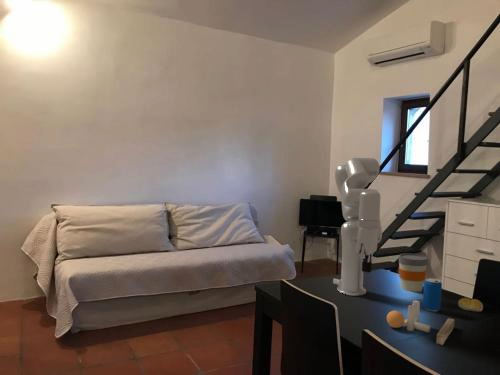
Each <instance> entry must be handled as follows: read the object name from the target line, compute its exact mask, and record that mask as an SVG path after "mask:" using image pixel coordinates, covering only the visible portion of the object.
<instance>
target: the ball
mask: <svg viewBox="0 0 500 375" xmlns="http://www.w3.org/2000/svg"><path fill="white" fill-rule="evenodd" d="M404 320H405V317H404V315H403V313H402V312H400V311H399V310H392V311H390V312H388V314H387V315H386V321H387V324H388V325H389V326H390V327H391V328H393V329H400V328H401V327H403V326H404Z"/></svg>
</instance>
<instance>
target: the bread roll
mask: <svg viewBox="0 0 500 375" xmlns="http://www.w3.org/2000/svg"><path fill="white" fill-rule="evenodd" d="M457 304H458V307H459V308H461V309H462V310H465V311H471V312H475V311H476V312H482V311H483V309H484V305H483V303H482V302H481V301H480V300H478V299H477V298H473V299H470V298H469V297H463V298H460V299H459V300H458V302H457Z"/></svg>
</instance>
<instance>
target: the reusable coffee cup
mask: <svg viewBox="0 0 500 375" xmlns="http://www.w3.org/2000/svg"><path fill="white" fill-rule="evenodd" d="M398 264H399V266H398V277H399V278H400V288H401V289H402V290H403V291H406V292H412V293H413V292H422V290H423V287H424V282H425V280H426V275H427V266H428V257H427V256H425V255H423V254H422V255H421V254H417V253H410V252H409V253H408V252H407V253H400V254H399V255H398Z"/></svg>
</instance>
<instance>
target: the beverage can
mask: <svg viewBox="0 0 500 375" xmlns="http://www.w3.org/2000/svg"><path fill="white" fill-rule="evenodd" d="M442 287H443V283H442V282H441V279H438V278H434V277H427V278H426V277H425V280H424V281H423V297H422V300H423V301H422V307H423V308H424V309H425V311H429V312H435V313H437V312H439V311H440V310H441V304H442V302H441V301H442Z"/></svg>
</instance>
